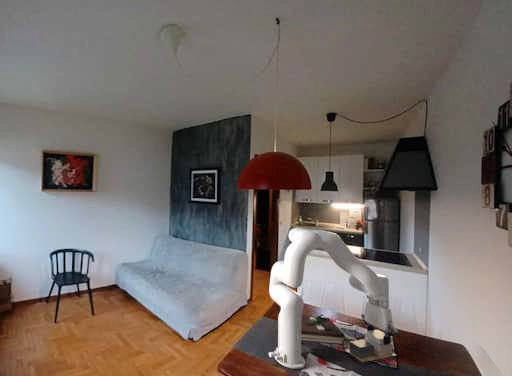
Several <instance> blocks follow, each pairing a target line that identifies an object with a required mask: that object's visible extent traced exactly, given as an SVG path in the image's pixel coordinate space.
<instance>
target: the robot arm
mask: <svg viewBox="0 0 512 376" xmlns="http://www.w3.org/2000/svg"><path fill="white" fill-rule="evenodd" d="M288 239H289V241H290V242H291V243H290V244H289V245H288V247H287V248H286V249H285V252H284V258H283V260H278V261H276V262H275V263H274V264H273V265H272V267H271V271H270V278H269V287H268V290H269V291H268V292H269V296H270V298H271V300H272V301H273V302H275V303H276V304H277V305H278V306H279V307H280V311H279V313H278V317H277V347H275V350H274V351H269V352H268V356H269V358H274V360H275V361H276V362H277V363H279V364H280V365H281V366H283V367H285V368H288V369H291V370H301V369H303V368H304V367H305V366H306V360H305V358H304V357H303V356H302V344H301V342H302V341H301V320H302V316H303V312H304V307H305V302H304V299H303V297H302V296H301V295H300V293H298V292H297V291H296V290H294V289H298V288H300V287H301V286H302V284H303V281H304V272H305V264H306V260H307V257H308V255H309V254H310V253H311V252H312V251H315V250H316V249H317V248H320V249H323V250H324V251H325V252H326V253H327V255H328V256H329V257H330V258H331V260H332V261H333V262H334V263H335V264H336V266H337V267H339V268H340V269H341V270H342V271H344V272H346V273H348V274H349V275H350V276H349V277H348V282H349V285H350V286H351V287H352V288H354V289H356V290H357V291H360V292H362V293H364V294H367V295H366V298H367V300H366V303H365V306H364V313H363V314H361V315H360V316H361V318H362V320H363V322H364V323H365V326H366V331H371V330H375V328H377V329H378V330H380V331H381V330H382V332H384V334H385V336H383V339H384V345H388V344H390V343H392V342H391V336H392V337H393V336H395V335H396V334H398V333H399V331H398V330H397V328H396V327H395V326H394V324H393V315H392V310H391V307H390V280H389V278H388V276H385V275H383V274H380V273H376V272H375V271H374V270H373V269H372V268H370V267H369V266H368V265H366V263H364V262H363V261H362V260H361V259H359V258H358V257H356V255H354V253H353V252H352V251H351V249H349V246H347V244H346V243H345V242H344V241H343V239H342V238H341V237H340V235H338V234H337V233H335V232H331V231H327V230H323V229H314V228H306V227H300V226H296V227H292V228H291V229H290V230H289V232H288Z"/></svg>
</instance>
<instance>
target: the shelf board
mask: <svg viewBox="0 0 512 376" xmlns="http://www.w3.org/2000/svg"><path fill="white" fill-rule="evenodd" d="M344 351H346V352H347V353H348V354H349V355H351V356H353V357H355V358H356V359H357V360H359V361H361V362H362V363H365V362H370V361H374V360H375V361H376V360H380V359H384V358H390V357H394V356H397V354H396V353H395V352H393V354H389V355H384V356H378V355H376V354H374V356H371V357H365V358H358V357H357V356H355V355H354V354H352V353H351V352H350V348H346V349H344Z"/></svg>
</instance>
